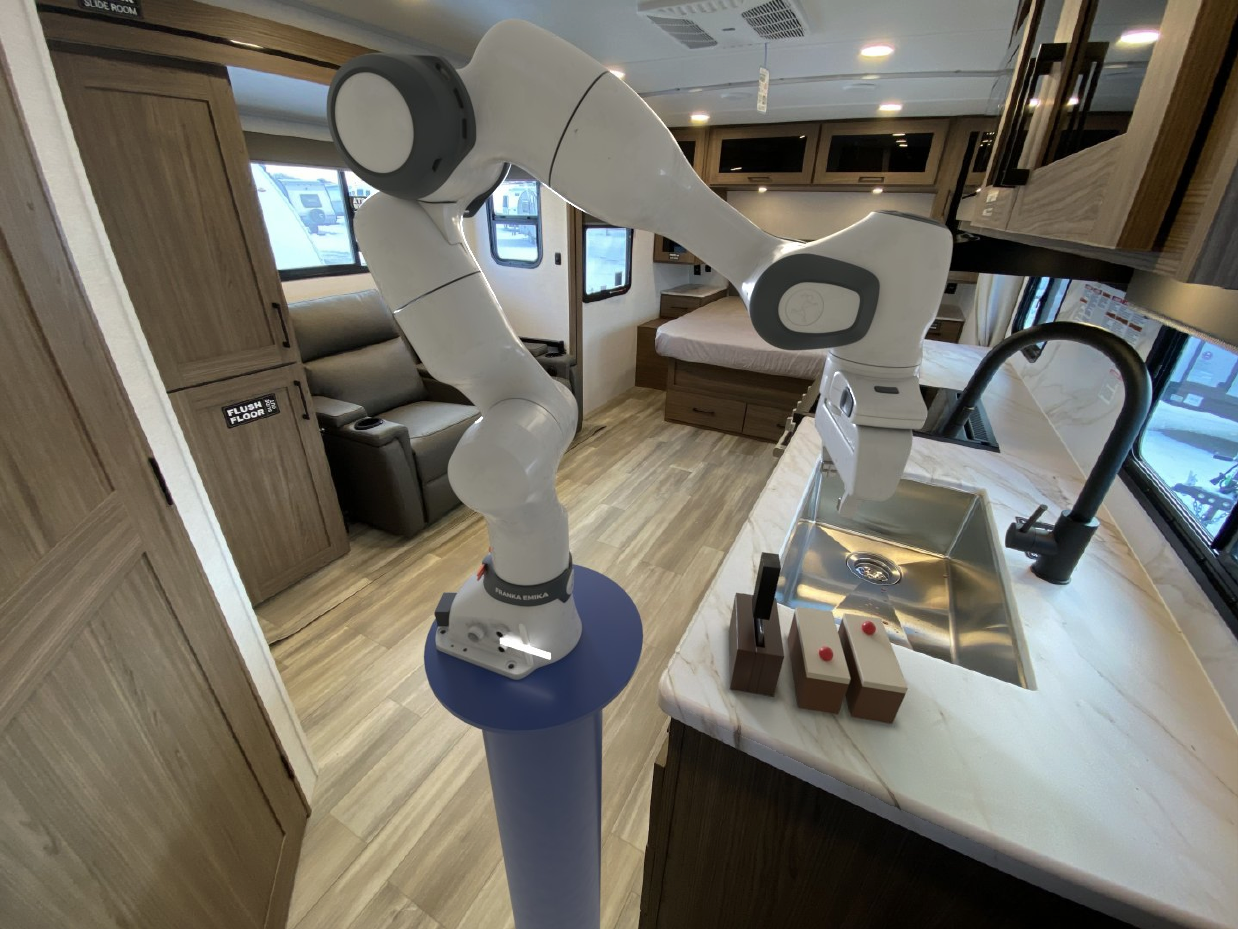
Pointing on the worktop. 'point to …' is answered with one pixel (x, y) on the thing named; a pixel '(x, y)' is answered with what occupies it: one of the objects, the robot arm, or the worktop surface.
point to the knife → (765, 592)
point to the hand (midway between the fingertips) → (835, 493)
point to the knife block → (754, 650)
